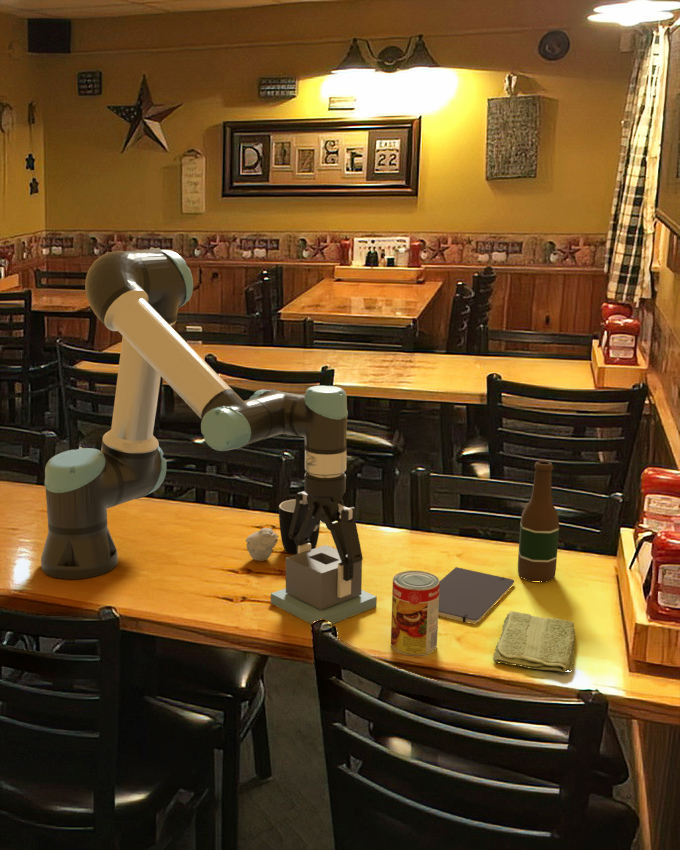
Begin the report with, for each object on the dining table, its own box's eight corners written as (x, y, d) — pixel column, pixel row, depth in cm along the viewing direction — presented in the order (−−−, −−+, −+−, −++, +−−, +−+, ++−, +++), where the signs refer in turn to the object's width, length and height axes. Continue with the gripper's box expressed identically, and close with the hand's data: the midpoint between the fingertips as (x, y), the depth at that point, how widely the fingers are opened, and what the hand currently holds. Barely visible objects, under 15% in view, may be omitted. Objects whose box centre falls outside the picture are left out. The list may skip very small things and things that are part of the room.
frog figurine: (274, 567, 191) (274, 535, 190) (241, 564, 193) (241, 532, 191) (281, 556, 197) (281, 525, 196) (249, 553, 198) (249, 522, 197)
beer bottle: (559, 572, 191) (567, 460, 185) (550, 586, 184) (559, 470, 178) (521, 566, 194) (529, 455, 188) (512, 579, 187) (519, 464, 182)
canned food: (396, 631, 164) (398, 568, 161) (440, 638, 162) (443, 573, 159) (385, 651, 156) (387, 585, 154) (431, 658, 154) (434, 591, 151)
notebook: (455, 574, 191) (412, 612, 173) (456, 566, 190) (412, 604, 172) (515, 587, 185) (476, 628, 167) (515, 579, 184) (476, 620, 166)
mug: (314, 559, 196) (314, 514, 193) (273, 555, 198) (273, 510, 195) (328, 540, 207) (328, 496, 205) (289, 536, 209) (289, 493, 207)
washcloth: (490, 667, 153) (491, 650, 152) (504, 622, 169) (505, 606, 168) (572, 681, 149) (573, 662, 148) (578, 633, 165) (580, 616, 164)
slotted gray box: (285, 592, 174) (285, 557, 172) (325, 578, 180) (325, 544, 179) (321, 609, 166) (321, 573, 165) (361, 594, 173) (361, 559, 171)
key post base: (270, 603, 174) (270, 568, 173) (326, 583, 184) (326, 550, 182) (320, 628, 164) (321, 591, 163) (376, 606, 174) (377, 571, 172)
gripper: (269, 462, 173) (269, 572, 179) (354, 491, 157) (351, 611, 162) (299, 455, 178) (299, 563, 184) (385, 482, 162) (381, 599, 167)
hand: (323, 585), depth 173 cm, fingers open, 10 cm apart
